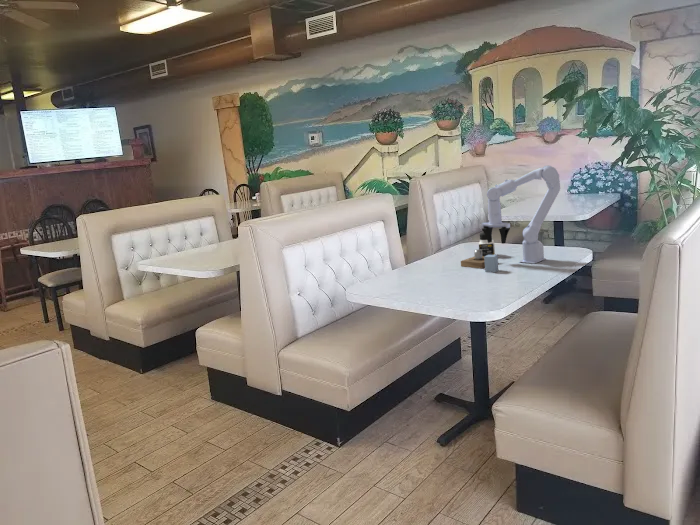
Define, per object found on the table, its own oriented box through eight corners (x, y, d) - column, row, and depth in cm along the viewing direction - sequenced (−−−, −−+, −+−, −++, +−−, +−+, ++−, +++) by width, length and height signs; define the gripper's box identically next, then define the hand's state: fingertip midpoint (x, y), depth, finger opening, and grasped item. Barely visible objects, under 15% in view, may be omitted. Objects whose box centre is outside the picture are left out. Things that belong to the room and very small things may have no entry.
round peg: (478, 263, 267) (477, 249, 265) (484, 264, 264) (483, 249, 263) (473, 265, 265) (472, 250, 263) (479, 265, 262) (478, 251, 260)
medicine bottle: (479, 257, 279) (477, 234, 276) (480, 254, 285) (478, 231, 283) (494, 257, 276) (492, 233, 274) (495, 254, 283) (493, 230, 281)
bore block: (476, 260, 273) (476, 255, 272) (497, 262, 263) (497, 257, 263) (461, 266, 265) (460, 261, 265) (481, 268, 256) (481, 263, 256)
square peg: (489, 269, 253) (487, 254, 251) (498, 270, 250) (497, 254, 249) (485, 272, 249) (484, 256, 248) (494, 272, 246) (493, 256, 245)
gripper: (476, 214, 261) (478, 243, 263) (502, 215, 249) (504, 245, 252) (485, 212, 265) (487, 240, 267) (512, 212, 254) (514, 242, 256)
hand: (496, 242), depth 260 cm, fingers open, 7 cm apart
